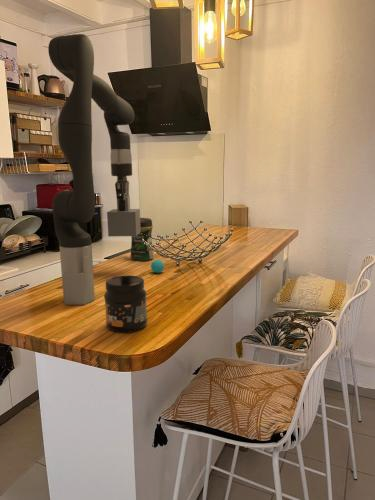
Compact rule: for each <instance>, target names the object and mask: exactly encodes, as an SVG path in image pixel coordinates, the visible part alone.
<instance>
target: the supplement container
mask: <svg viewBox="0 0 375 500" xmlns="http://www.w3.org/2000/svg"><path fill="white" fill-rule="evenodd" d="M105 290H106V291H105V292H104V295H103V296H104V304H105V305H104V307H105V309H104V310H105V324H106V328H108V329H109V330H111V331H113V332H116V333H131V332H137V331H139V330H141V329H143V328H144V327H145V326H146V325H147V323H148V317H147V316H148V313H147V311H148V309H147V296H148V295H147V291H146V289H145V279H144V278H143V277H141V276H136V275H119V276H114V277H111V278H109V279H106V281H105Z"/></svg>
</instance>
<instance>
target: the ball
mask: <svg viewBox="0 0 375 500" xmlns="http://www.w3.org/2000/svg"><path fill="white" fill-rule="evenodd" d="M150 268H151V271H152V272H153V273H155V274H160V273H162V272H163V271H164V268H165V264H164V262H163V261H162V260H159V259H156V260H153V261H152V262H151V265H150Z"/></svg>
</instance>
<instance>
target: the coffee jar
mask: <svg viewBox="0 0 375 500" xmlns="http://www.w3.org/2000/svg"><path fill="white" fill-rule="evenodd" d="M153 226H154V225H153V220H152V219H151V218H149V217H140V229H141V232H140V233H139V234H138V235H137V236H131V243H130V244H131V246H130V259H131V260H133V261H138V262H149V261H152V260H153V258H154V250H153V251H152V250H151V249H150V248H149V247H148V246H146V245H145V244H144V242H143V240H142V238H143V239H144V240H145V241H147V242H148V243H150V244H152V245H153V239H151V238H152V232H153V228H154V227H153ZM142 233H143V234H142ZM144 234H145V235H144ZM146 235H147V236H146ZM149 237H150V238H149Z"/></svg>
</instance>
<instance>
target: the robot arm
mask: <svg viewBox="0 0 375 500" xmlns="http://www.w3.org/2000/svg"><path fill="white" fill-rule="evenodd" d="M47 47H48V56H49V59H50V62H51V63H52V65H53V66H54V68H55V69H56V70H57V71H58V72H60V73H61V74H62V75H63V76H65V77H66V78H67V79H69V80H70V81H71V82H72V88H71V91H70V93H69V94H68V97H67V99H66V101H65V103H64V104H63V107H62V108H61V109H60V113H59V115H58V119H57V129H58V130H57V132H58V133H57V134H58V135H57V136H58V138H57V139H58V140H57V141H58V146H59V148H60V150H61V152H62V154H63V156H64V158H65V159H66V162H67V164H68V165H69V167H70V170H71V173H72V174H71V175H72V181H73V190H72V189H71V190H69V189H68V190H60V191H58V192H57V193H56V194H55V195H54V198H53V200H52V216H53V217H52V218H53V223H54V230H55V236H56V238H57V240H58V244H59V245H58V246H59V255H60V256H59V257H60V259H59V260H60V270H61V272H60V273H61V283H62V284H61V285H62V294H63V302H64V305H65V306H66V305H67V306H71V305H72V306H73V305H77V306H82V305H83V306H85V305H87V304H89V303H91V302H94V300H95V299H96V295H95V294H96V293H95V281H94V280H95V279H94V267H93V266H94V264H93V246H92V237H91V236H92V235H91V234H90V233H88V232H86V231H85V230H83V229H82V228H81V227H80V225H79V223H81V224H83V223H84V224H85V223H90V221H91V220H92V219H93V218H94V216H95V212H96V198H95V197H96V196H95V194H96V193H95V188H94V187H95V186H94V176H93V158H92V157H93V155H92V146H93V145H92V144H93V124H92V123H93V122H92V121H93V120H92V101H93V102H94V103H95V104H96V106H98V107H99V108H100V110H101V111H103V119H104V122H105V125H106V128H107V131H108V135H109V141H110V142H109V143H110V173H111V176H112V177H116V181H115V184H114V186H115V195H116V200H117V199H118V200H119V210H120V211H125V197H127V196H130V192H129V191H130V181H129V180H128V177H132V176H133V164H132V162H133V159H132V152H131V135H130V134H129V133H128V132H124V131H120V130H119V127H118V126H129V125H131V124H132V123H133V122H134V120H135V110H134V109H133V107H132V105H131V104H130V103H129V102H127V101H126V100H125V99H123V98H122V97H121V96H120V95H117V93H116V92H115V91H114V89H113V88H112V87H111V86H110V84H109V83H108V82H107V81H105V80H104V79H103V78H101V77H99V76H97V75H96V74H94V68H95V52H94V46H93V43H92V41H91V39H90V38H89V36H88V35H86V34H84V33H77V34H68V35H67V34H65V35H58V36H55V37H53V38H51V39H50V41H49V42H48V46H47Z"/></svg>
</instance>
